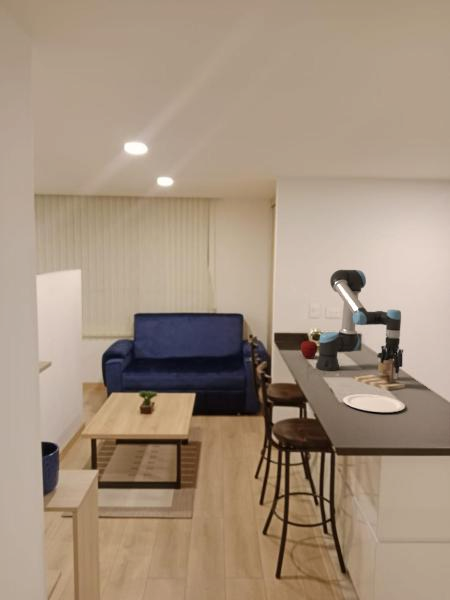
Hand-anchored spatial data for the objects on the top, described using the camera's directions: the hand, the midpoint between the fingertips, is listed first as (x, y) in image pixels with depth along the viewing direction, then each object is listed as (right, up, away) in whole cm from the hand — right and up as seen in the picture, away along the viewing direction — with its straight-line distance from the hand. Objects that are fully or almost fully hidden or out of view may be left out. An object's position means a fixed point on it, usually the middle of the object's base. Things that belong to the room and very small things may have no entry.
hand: (390, 377), depth 273 cm
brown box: (-3, -2, -1) cm, 3 cm away
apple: (-34, +2, +71) cm, 79 cm away
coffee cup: (+2, -4, +17) cm, 17 cm away
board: (-6, -4, +4) cm, 8 cm away
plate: (-21, -8, -37) cm, 44 cm away
